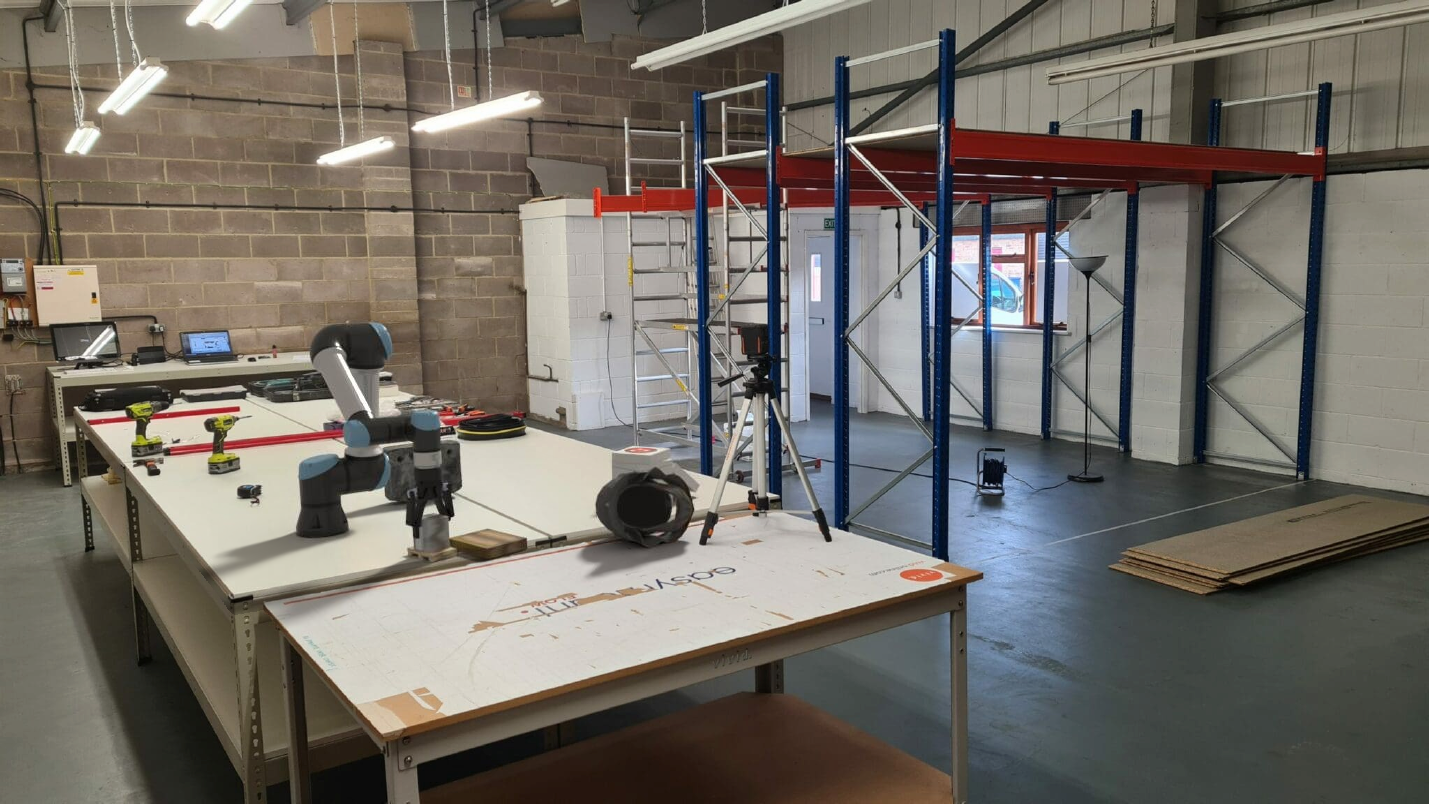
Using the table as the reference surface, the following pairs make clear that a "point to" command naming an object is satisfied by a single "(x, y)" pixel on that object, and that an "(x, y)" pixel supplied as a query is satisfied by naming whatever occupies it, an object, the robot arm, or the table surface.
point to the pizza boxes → (649, 463)
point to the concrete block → (404, 466)
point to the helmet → (645, 507)
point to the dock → (488, 543)
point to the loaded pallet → (434, 538)
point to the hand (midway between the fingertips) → (431, 546)
